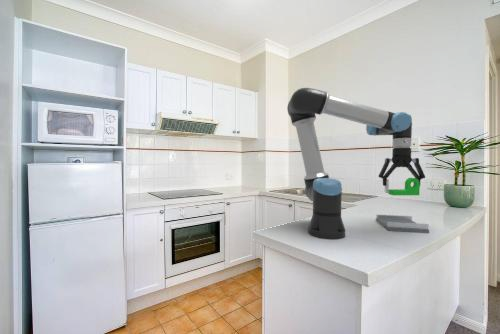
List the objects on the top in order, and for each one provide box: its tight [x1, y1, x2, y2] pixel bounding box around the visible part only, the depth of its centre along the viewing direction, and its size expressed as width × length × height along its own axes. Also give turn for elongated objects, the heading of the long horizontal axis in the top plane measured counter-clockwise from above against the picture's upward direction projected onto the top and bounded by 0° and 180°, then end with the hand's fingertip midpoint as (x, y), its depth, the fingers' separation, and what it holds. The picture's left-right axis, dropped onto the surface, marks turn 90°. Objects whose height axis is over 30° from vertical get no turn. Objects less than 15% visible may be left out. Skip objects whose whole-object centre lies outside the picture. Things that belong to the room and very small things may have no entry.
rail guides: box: [375, 214, 429, 229], centre depth 113 cm, size 16×16×2 cm
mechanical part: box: [388, 177, 421, 196], centre depth 111 cm, size 12×6×8 cm, turn 91°
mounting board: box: [375, 218, 430, 234], centre depth 113 cm, size 16×18×2 cm
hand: (401, 193), depth 112 cm, fingers closed on mechanical part, 12 cm apart
